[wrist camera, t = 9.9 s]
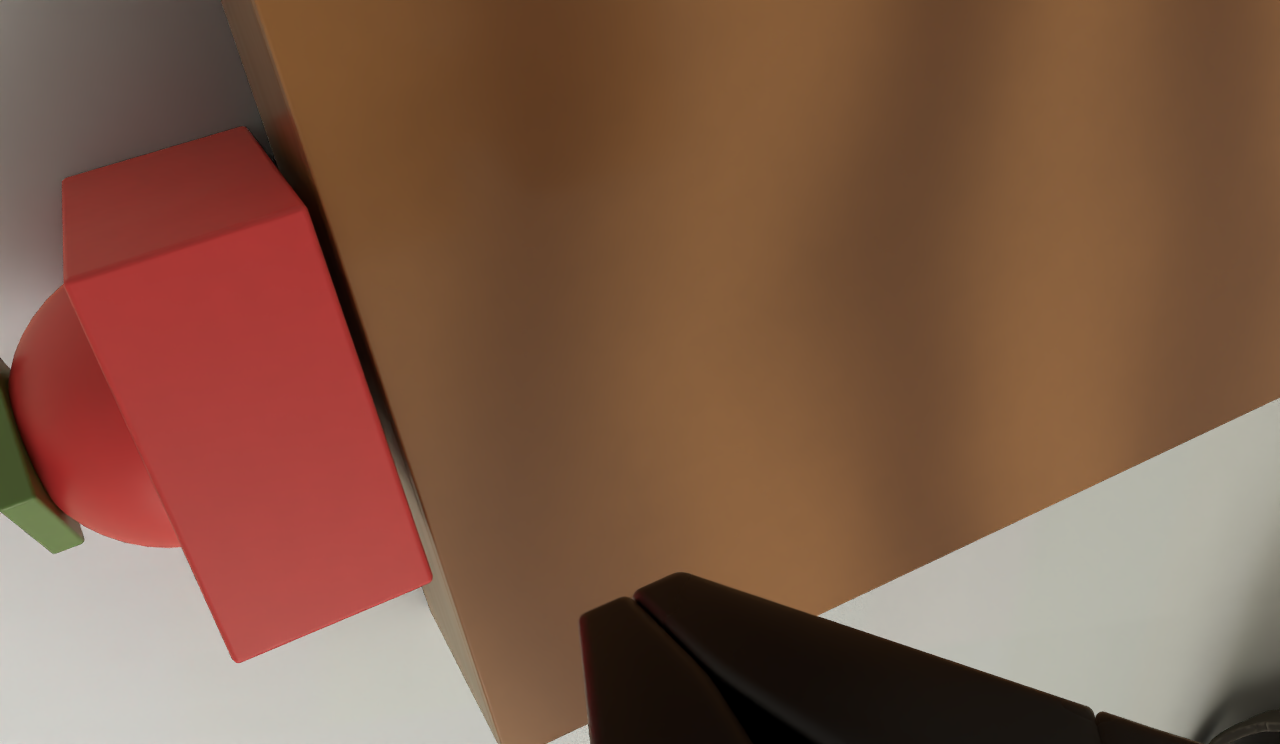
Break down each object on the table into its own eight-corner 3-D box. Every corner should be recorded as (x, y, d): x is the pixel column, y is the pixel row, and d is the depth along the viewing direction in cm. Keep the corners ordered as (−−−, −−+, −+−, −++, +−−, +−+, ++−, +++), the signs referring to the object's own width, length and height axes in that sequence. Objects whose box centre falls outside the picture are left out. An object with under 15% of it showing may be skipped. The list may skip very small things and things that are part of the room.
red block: (306, 202, 12) (-120, 339, 11) (436, 583, 14) (89, 729, 13) (245, 123, 16) (-75, 218, 15) (354, 432, 18) (81, 534, 17)
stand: (1137, -388, 19) (1373, -445, 15) (1143, 308, 24) (1319, 379, 21) (159, -178, 15) (190, -191, 11) (429, 612, 20) (507, 762, 17)
